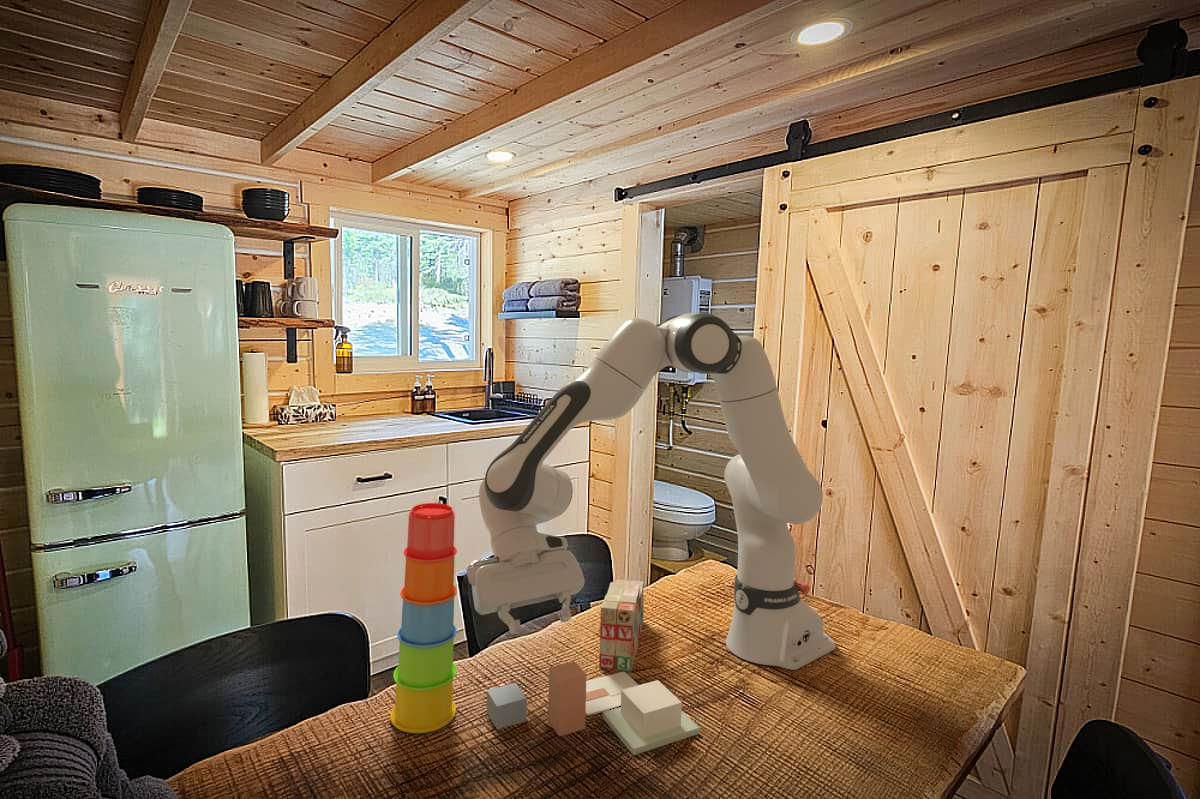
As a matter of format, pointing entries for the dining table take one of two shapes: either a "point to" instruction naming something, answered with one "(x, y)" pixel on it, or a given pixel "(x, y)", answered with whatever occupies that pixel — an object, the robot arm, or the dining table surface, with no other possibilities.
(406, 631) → the stacking cups
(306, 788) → the dining table surface
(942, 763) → the dining table surface
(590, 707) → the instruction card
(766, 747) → the dining table surface
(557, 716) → the terracotta brick
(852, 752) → the dining table surface
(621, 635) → the stack of blocks
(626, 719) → the tower base
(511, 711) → the slate brick
